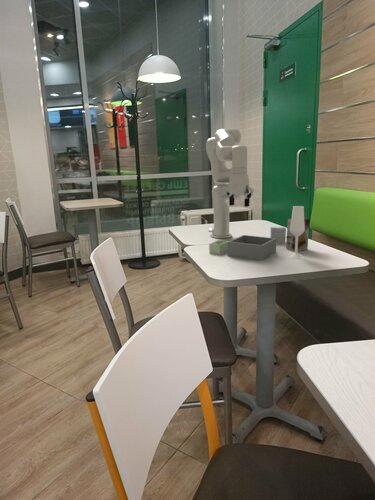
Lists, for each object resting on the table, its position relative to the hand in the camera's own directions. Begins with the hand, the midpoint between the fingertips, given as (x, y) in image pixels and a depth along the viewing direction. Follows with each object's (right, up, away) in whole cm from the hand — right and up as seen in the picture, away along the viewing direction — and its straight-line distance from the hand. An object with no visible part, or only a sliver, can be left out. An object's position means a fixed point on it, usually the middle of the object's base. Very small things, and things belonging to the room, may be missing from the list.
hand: (239, 205), depth 180 cm
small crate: (-10, -23, +3) cm, 26 cm away
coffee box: (+30, -22, +3) cm, 38 cm away
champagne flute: (+26, -26, -10) cm, 38 cm away
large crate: (+6, -25, -4) cm, 26 cm away
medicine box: (+24, -19, +19) cm, 36 cm away
